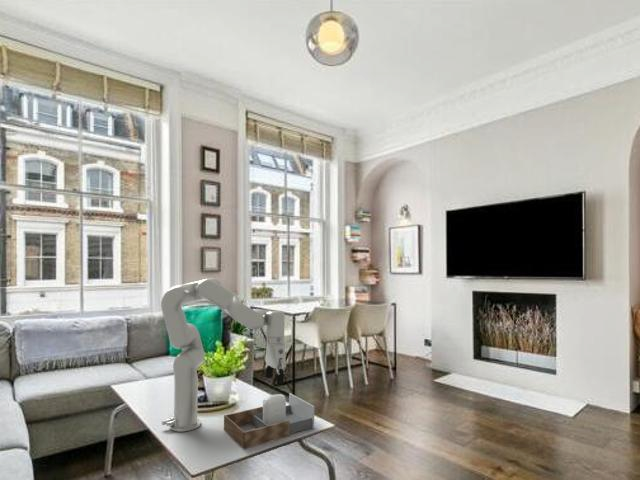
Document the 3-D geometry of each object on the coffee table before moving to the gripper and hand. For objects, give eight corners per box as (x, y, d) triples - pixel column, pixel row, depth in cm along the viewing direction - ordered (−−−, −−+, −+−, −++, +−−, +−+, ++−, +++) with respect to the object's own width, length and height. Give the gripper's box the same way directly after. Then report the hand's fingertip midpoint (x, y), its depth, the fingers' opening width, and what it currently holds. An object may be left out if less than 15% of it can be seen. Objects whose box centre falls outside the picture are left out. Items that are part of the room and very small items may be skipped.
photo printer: (266, 429, 166) (266, 399, 166) (261, 426, 169) (261, 396, 170) (287, 423, 172) (287, 394, 173) (281, 420, 175) (282, 391, 176)
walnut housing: (243, 449, 152) (244, 432, 152) (223, 430, 168) (224, 415, 168) (289, 435, 163) (289, 420, 163) (266, 419, 180) (266, 405, 180)
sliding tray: (272, 440, 159) (272, 416, 159) (250, 422, 175) (250, 401, 176) (314, 428, 170) (314, 406, 170) (290, 412, 186) (290, 393, 187)
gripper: (293, 342, 167) (292, 384, 166) (273, 335, 181) (272, 374, 181) (277, 344, 163) (276, 387, 162) (258, 337, 177) (257, 376, 176)
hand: (274, 380), depth 171 cm, fingers open, 9 cm apart
